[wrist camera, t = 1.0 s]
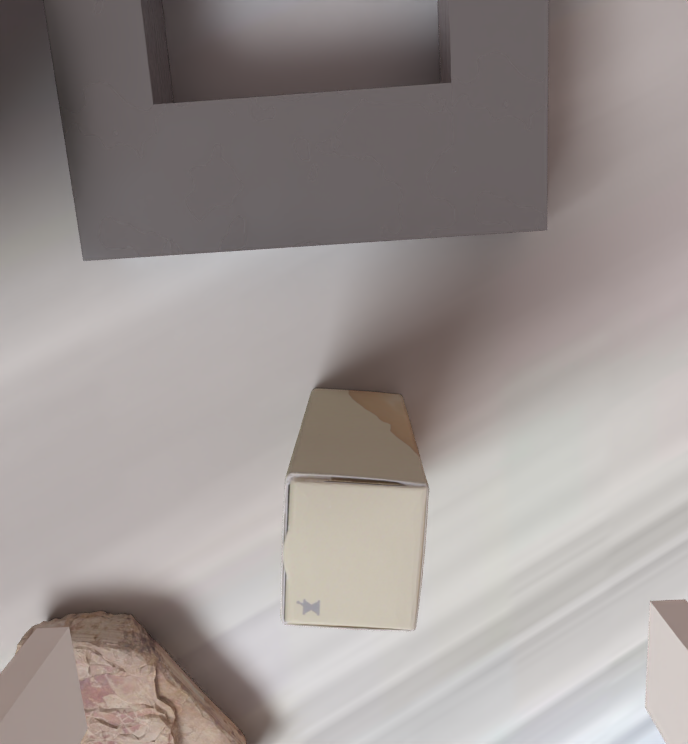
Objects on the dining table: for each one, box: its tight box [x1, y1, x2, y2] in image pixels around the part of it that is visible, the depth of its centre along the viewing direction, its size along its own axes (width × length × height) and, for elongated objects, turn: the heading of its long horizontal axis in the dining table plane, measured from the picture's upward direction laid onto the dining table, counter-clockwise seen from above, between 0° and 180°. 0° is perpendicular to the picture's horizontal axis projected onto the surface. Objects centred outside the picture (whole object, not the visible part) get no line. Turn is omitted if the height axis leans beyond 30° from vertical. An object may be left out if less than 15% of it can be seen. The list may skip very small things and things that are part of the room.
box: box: [280, 388, 429, 632], centre depth 24 cm, size 5×4×11 cm
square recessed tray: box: [43, 0, 548, 261], centre depth 24 cm, size 18×18×3 cm
